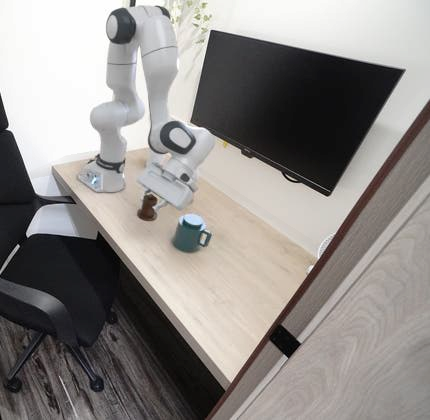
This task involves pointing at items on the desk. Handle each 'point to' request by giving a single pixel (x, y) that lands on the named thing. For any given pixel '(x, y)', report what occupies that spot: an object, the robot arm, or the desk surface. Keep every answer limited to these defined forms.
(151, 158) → the cup
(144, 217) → the lid
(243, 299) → the desk surface
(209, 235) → the teal mug
